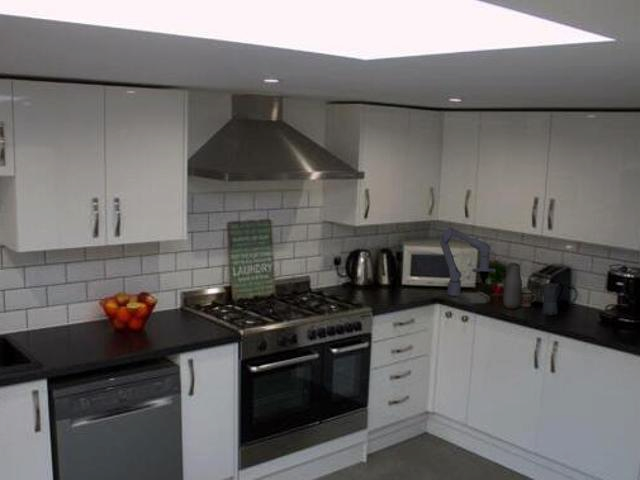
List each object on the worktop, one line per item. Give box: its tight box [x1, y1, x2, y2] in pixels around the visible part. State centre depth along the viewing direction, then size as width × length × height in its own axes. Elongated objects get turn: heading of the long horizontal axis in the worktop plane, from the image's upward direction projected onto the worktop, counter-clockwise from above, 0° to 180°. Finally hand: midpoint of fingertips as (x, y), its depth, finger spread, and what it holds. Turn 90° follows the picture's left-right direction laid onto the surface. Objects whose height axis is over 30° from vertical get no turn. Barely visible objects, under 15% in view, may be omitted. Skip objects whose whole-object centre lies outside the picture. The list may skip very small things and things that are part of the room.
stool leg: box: [476, 290, 491, 303], centre depth 428 cm, size 16×3×3 cm, turn 8°
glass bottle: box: [502, 262, 523, 310], centre depth 402 cm, size 10×10×28 cm
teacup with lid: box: [519, 286, 537, 308], centre depth 413 cm, size 12×9×12 cm
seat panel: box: [460, 292, 487, 304], centre depth 425 cm, size 18×10×2 cm, turn 7°
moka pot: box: [540, 280, 565, 316], centre depth 393 cm, size 10×15×20 cm, turn 111°
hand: (483, 283), depth 431 cm, fingers closed
